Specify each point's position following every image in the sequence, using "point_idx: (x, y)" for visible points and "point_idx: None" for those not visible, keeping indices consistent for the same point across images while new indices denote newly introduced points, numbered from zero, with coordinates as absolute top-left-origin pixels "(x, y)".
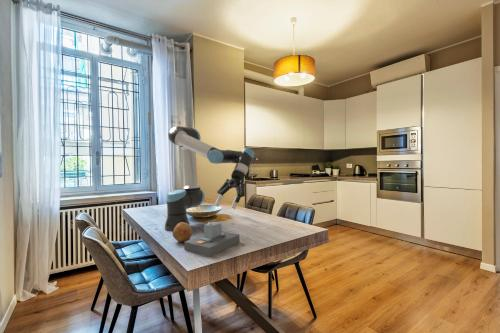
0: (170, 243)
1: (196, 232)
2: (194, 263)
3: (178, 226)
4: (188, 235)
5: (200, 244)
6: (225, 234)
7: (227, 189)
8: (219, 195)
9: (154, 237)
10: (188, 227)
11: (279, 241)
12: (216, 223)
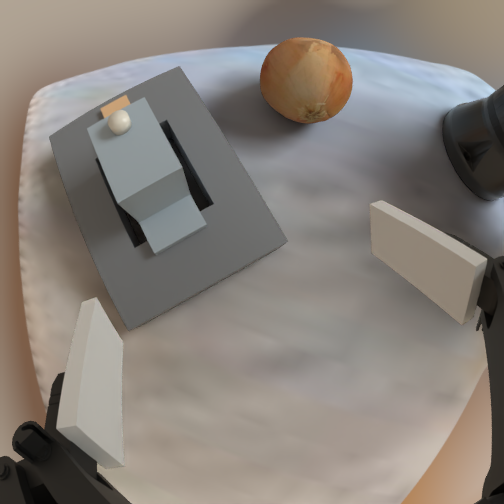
0: None
1: (400, 190)
2: (55, 103)
3: (292, 38)
4: (264, 94)
5: (101, 111)
6: (169, 260)
7: (502, 409)
8: (458, 254)
9: (385, 53)
10: (283, 76)
11: None
12: (120, 169)
